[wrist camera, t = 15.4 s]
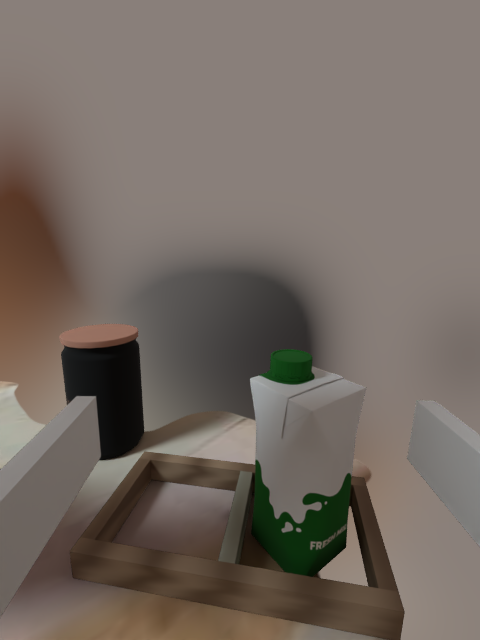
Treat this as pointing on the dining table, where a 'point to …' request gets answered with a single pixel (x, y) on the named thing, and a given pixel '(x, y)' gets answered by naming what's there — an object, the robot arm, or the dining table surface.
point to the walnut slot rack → (238, 557)
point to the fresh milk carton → (303, 461)
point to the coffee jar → (107, 381)
